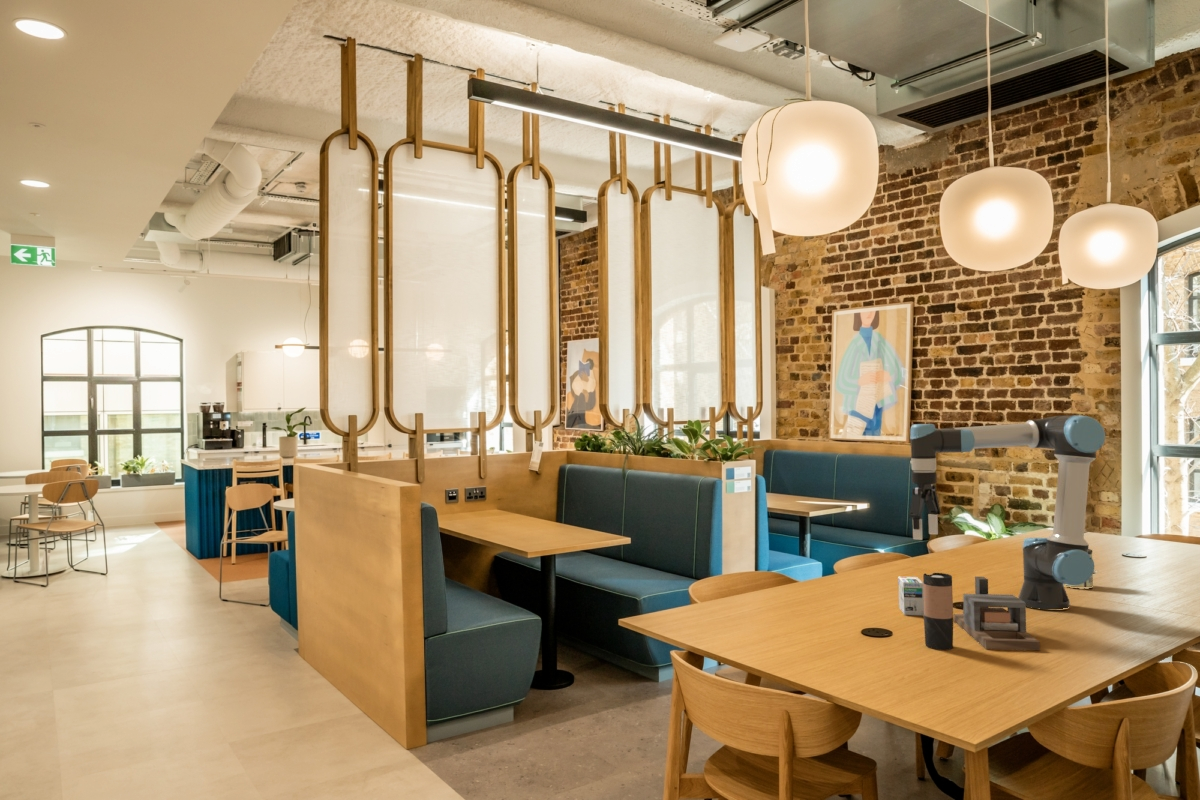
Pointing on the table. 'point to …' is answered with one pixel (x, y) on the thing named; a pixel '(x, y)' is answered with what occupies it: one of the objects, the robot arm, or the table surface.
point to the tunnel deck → (996, 637)
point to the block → (994, 615)
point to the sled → (982, 588)
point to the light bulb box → (911, 595)
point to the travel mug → (938, 611)
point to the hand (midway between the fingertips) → (925, 536)
